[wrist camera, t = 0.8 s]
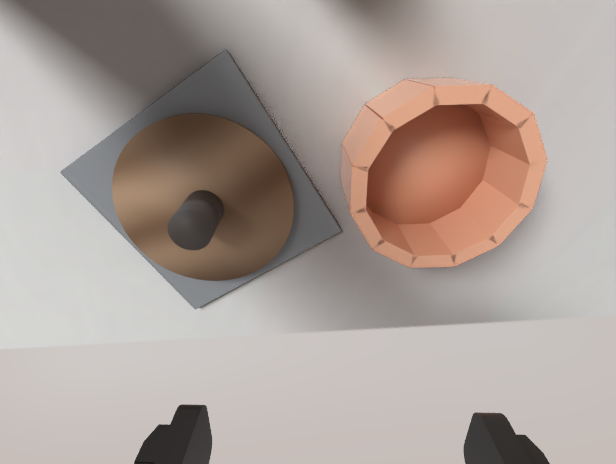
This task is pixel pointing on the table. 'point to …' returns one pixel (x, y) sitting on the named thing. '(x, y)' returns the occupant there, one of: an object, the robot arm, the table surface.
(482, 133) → the bowl
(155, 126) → the lid
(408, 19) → the table surface
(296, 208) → the mat
